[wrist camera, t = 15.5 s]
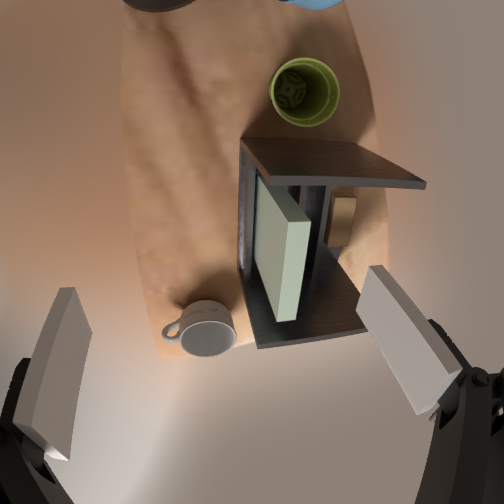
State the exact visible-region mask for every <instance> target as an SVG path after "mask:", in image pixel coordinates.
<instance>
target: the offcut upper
mask: <svg viewBox="0 0 504 504" xmlns="http://www.w3.org/2000/svg"><path fill="white" fill-rule="evenodd" d="M356 203H357V197H356V196H354V195H353V194H352V193H331V196H330V203H329V210H328V216H327V222H326V228H325V234H324V240H323V242H324V243H325V245H326V246H327V247H337V246H348V243H349V238H350V233H351V228H352V223H353V218H354V213H355V208H356Z"/></svg>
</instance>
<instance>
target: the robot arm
mask: <svg viewBox="0 0 504 504" xmlns="http://www.w3.org/2000/svg"><path fill="white" fill-rule="evenodd" d="M123 1H124V2H125V3H126V4H128V5H129V6H131V7H133V8H135V9H138V10H141V11H146V12H166V11H171V10H175V9H178V8H181V7H184V6H186V5H188V4H190V3H192V2H193V1H195V0H123ZM277 1H280V2H284V3H291V4H294V5H297V6H299V7H302V8H305V9H308V10H324V9H328V8H330V7H333V6H335V5H337V4H339V3H340V2H342V1H343V0H277ZM356 312H357V314H358V315H359V317H360V318H361V320H362V322H363V323H364V325H365V327H366V328H367V330H368V331H369V333H370V335H371V336H372V338H373V340H374V341H375V343H376V345H377V346H378V348H379V350H380V351H381V353H382V355H383V356H384V358H385V360H386V362H387V363H388V365H389V367H390V368H391V370H392V372H393V374H394V375H395V377H396V379H397V381H398V382H399V384H400V386H401V388H402V389H403V391H404V393H405V395H406V397H407V398H408V400H409V402H410V404H411V405H412V407H413V409H414V411H415V413H416V414H417V415H419V414H421V413H423V412H426V411H428V410H430V409H431V408H432V407H433V406H434V404H435V403H436V402H437V401H438V403H439V405H440V407H439V408H438V409H437V410H436V411H435V412H434V413H433V414H432V416H431V417H430V419H429V421H432V420H433V418H434V417H435V416H436V420H435V421H434V422H435V426H434V431H433V436H432V441H431V446H430V450H429V454H428V458H427V462H426V466H425V470H424V474H423V477H422V481H421V485H420V488H419V491H418V494H417V497H416V501H415V504H504V413H503V414H502V415H499V410H500V409H501V408H502V407H503V412H504V368H503V369H502V370H501V371H500V373H494V374H488V373H487V372H486V371H485V370H483V369H481V368H478V367H473V368H472V367H471V366H470V364H469V363H468V362H467V360H466V359H465V358H464V356H463V355H462V354H461V352H460V351H459V349H458V348H457V347H456V345H455V344H454V343H452V340H451V339H450V337H449V336H447V333H446V332H445V331H444V330H443V328H442V327H441V326H440V325H439V324H437V323H436V322H435V321H433V320H432V319H430V320H427V319H426V318H425V316H424V315H423V314H422V313H421V312H420V310H419V309H418V308H417V306H416V305H415V304H414V303H413V301H412V300H411V299H410V298H409V296H408V295H407V294H406V293H405V292H404V290H403V289H402V288H401V287H400V286H399V284H398V283H397V282H396V281H395V280H394V278H393V277H392V276H391V275H390V274H389V272H388V271H387V270H386V269H385V268H384V267H383V265H376V266H369V267H368V271H367V274H366V278H365V281H364V285H363V288H362V291H361V295H360V298H359V301H358V304H357V307H356ZM91 336H92V331H91V328H90V326H89V324H88V321H87V319H86V316H85V314H84V311H83V308H82V306H81V303H80V300H79V297H78V294H77V292H76V289H75V287H67V288H60V289H59V291H58V293H57V296H56V298H55V300H54V302H53V305H52V307H51V309H50V312H49V314H48V316H47V319H46V321H45V323H44V326H43V329H42V331H41V334H40V337H39V339H38V341H37V344H36V347H35V349H34V352H33V355H32V358H23V359H22V360H21V362H20V363H19V364H18V365H17V367H16V368H15V371H14V374H13V377H12V381H11V383H10V386H9V390H8V392H7V396H6V399H5V402H4V406H3V409H2V413H1V416H0V504H74V503H73V501H72V500H71V499H70V497H69V496H68V494H67V493H66V492H65V490H64V489H63V487H62V486H61V484H60V483H59V481H58V480H57V478H56V476H55V475H54V473H53V472H52V470H51V468H50V467H49V465H48V463H47V462H46V461H45V460H44V452H46V453H47V454H48V455H49V456H51V457H52V458H56V459H62V460H68V461H69V459H70V458H69V457H70V449H71V440H72V433H73V426H74V419H75V413H76V407H77V400H78V395H79V390H80V385H81V379H82V375H83V370H84V365H85V361H86V356H87V352H88V348H89V343H90V340H91Z"/></svg>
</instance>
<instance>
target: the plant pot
mask: <svg viewBox="0 0 504 504" xmlns="http://www.w3.org/2000/svg"><path fill="white" fill-rule="evenodd" d="M291 74H292V75H295V76H296V77H297V78H298V79H296V78H294V77H292V76H290V75H291ZM276 79H277V81H276ZM286 88H289V89H290V90H289V91H287V90H286ZM301 92H302V93H303V94H302V97H301V98H300V99H299V100H298V97H299V96H300V93H301ZM268 93H269V96H270V99H271V100H272V102H273V105H274V107H275V109H276V111H277V112H278V113H279V115H280V116H281V117H282V118H283V119H285V120H286V121H288V122H289V123H291V124H293V125H296V126H300V127H313V126H317V125H320V124H322V123H324V122H325V121H327V120H328V119H329V118H330V117H331V116H332V115H333V113H334V112H335V110H336V108H337V106H338V103H339V99H340V87H339V82H338V80H337V77H336V75H335V74H334V72H333V71H332V70H331V69H330V68H329V67H328V66H327V65H326V64H324V63H323V62H321V61H319V60H316V59H313V58H297V59H293V60H291V61H288V62H287V63H285V64H284V65H282V66H281V67H280V68H279V69H278V71H277V72H276V74H275V75H274V76H273V77H272V78H271V80H270V81H269V84H268ZM277 100H280V101H281V102H284V103H285V104H281V103H279V102H277Z"/></svg>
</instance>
